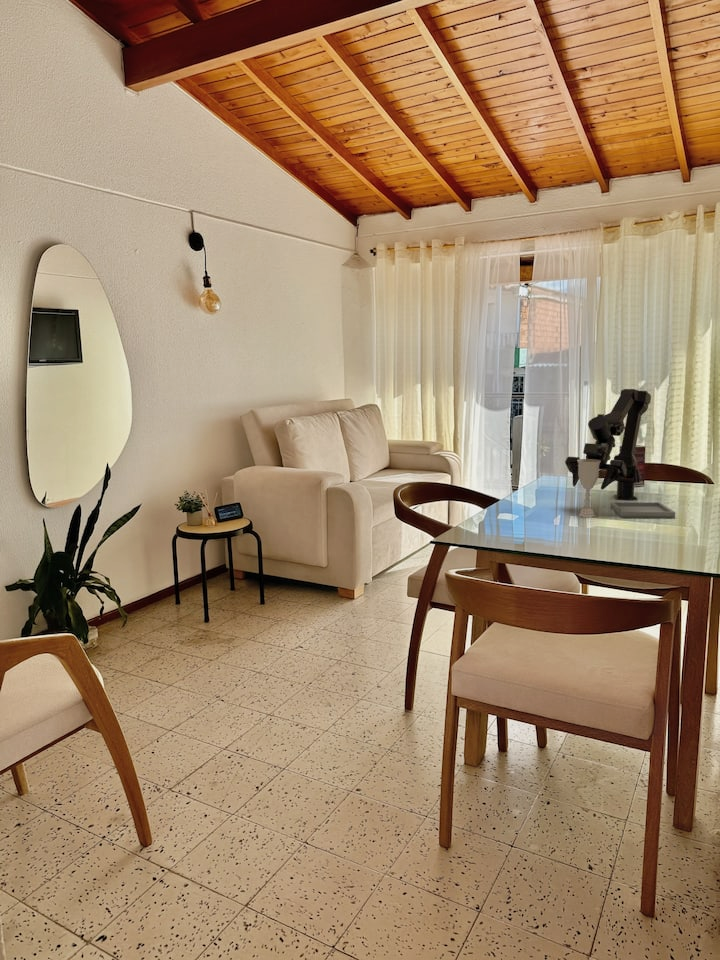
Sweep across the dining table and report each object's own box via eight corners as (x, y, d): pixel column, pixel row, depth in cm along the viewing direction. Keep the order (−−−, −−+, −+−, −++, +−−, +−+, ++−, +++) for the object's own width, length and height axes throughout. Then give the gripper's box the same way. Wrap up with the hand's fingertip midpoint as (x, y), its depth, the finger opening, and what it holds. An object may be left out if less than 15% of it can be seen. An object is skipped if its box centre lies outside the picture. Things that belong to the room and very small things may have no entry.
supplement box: (637, 484, 269) (639, 444, 266) (644, 486, 264) (646, 446, 261) (617, 485, 268) (619, 445, 265) (623, 487, 263) (625, 447, 260)
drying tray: (610, 507, 229) (610, 502, 229) (659, 508, 227) (660, 502, 227) (621, 518, 215) (622, 512, 214) (675, 518, 213) (675, 512, 212)
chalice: (599, 513, 221) (601, 459, 218) (599, 518, 215) (601, 462, 212) (575, 512, 224) (577, 458, 220) (574, 517, 217) (576, 461, 214)
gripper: (568, 432, 224) (552, 469, 218) (625, 435, 212) (610, 475, 206) (577, 453, 232) (562, 490, 225) (633, 457, 220) (618, 496, 213)
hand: (587, 487), depth 217 cm, fingers open, 9 cm apart
